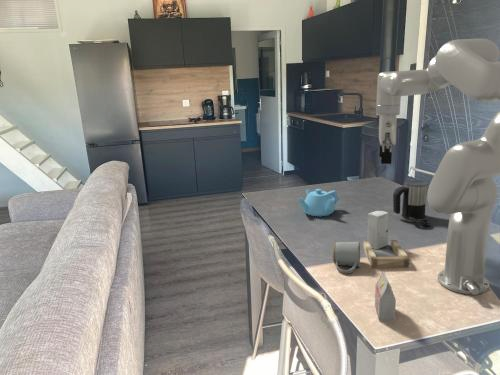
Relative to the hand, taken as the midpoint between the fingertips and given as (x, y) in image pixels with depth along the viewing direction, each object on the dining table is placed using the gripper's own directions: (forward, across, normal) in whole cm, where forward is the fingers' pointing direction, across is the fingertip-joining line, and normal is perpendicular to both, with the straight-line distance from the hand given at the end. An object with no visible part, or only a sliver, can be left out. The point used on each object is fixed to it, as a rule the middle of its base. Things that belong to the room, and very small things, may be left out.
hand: (384, 160), depth 133 cm
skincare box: (+29, -8, +1) cm, 30 cm away
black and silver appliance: (+30, +19, -15) cm, 38 cm away
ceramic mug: (+29, -25, +11) cm, 40 cm away
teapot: (+31, +25, +25) cm, 47 cm away
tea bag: (+28, -49, +2) cm, 57 cm away
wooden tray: (+29, -17, 0) cm, 33 cm away
